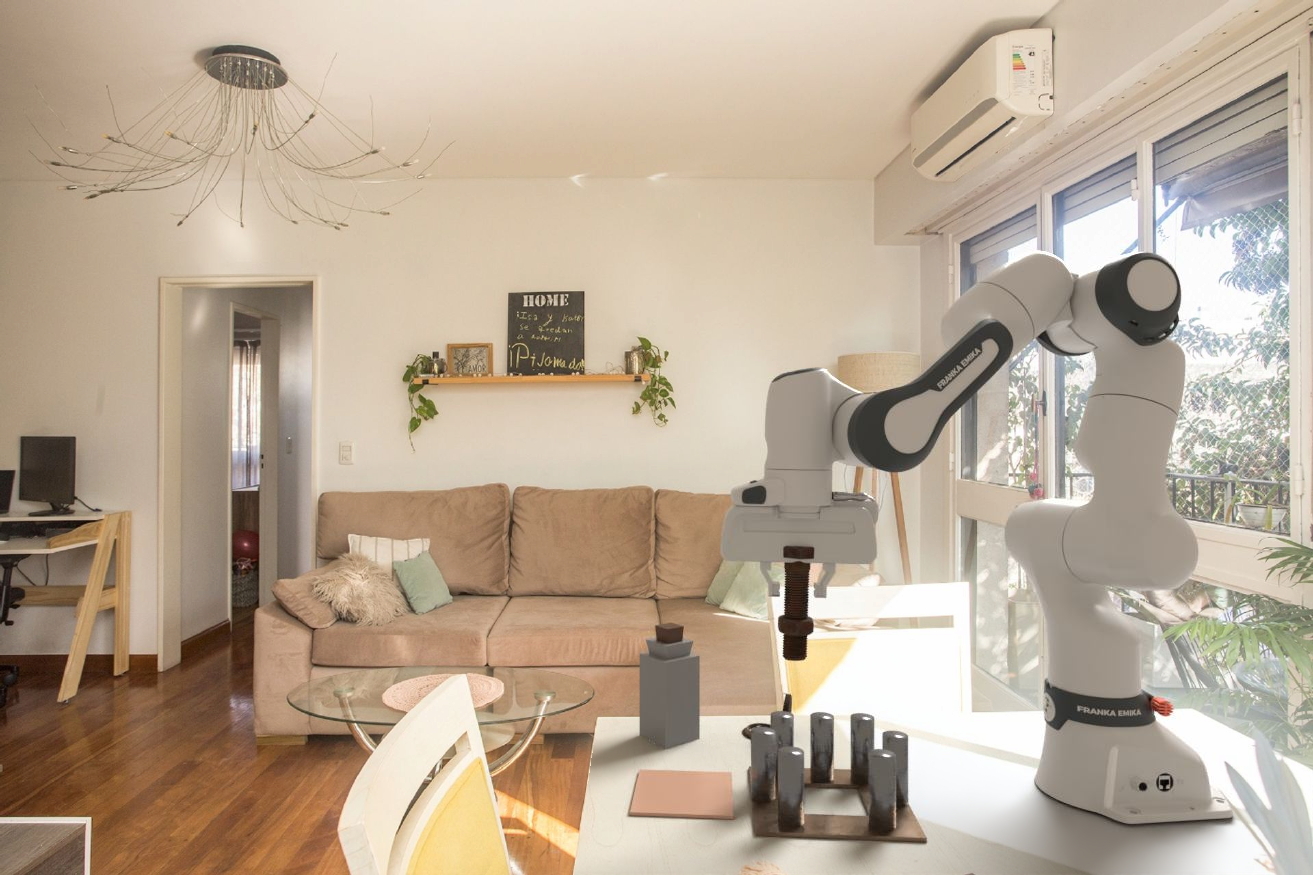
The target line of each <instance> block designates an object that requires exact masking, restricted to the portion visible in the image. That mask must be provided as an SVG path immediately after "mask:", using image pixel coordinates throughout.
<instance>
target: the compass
mask: <svg viewBox="0 0 1313 875" xmlns="http://www.w3.org/2000/svg"><path fill="white" fill-rule="evenodd" d="M782 694H783V695H785V696H784V701H783V706H782V711H786V712H790V713H792V709H793V696H792V694H791V693H786V692H783V693H782ZM756 727H767V728H771V723H766V722H765V723H764V722H755V723H750V724H748V725H747V726H745V727H744V728H742V730H741V732H742V735H743V736H744V737H745V738H747V739H749V740H751V730H752V729H753V728H756Z"/></svg>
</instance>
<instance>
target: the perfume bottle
mask: <svg viewBox="0 0 1313 875" xmlns="http://www.w3.org/2000/svg"><path fill="white" fill-rule="evenodd" d="M654 626H655V627H654V628H655V630H654V631H655V637H651V638H645V642H646V646H647V648H648V651H645V652H639V736H640V737H642V738H644V739H645V738H646V739H645V740H647V741H649V740H650V741H649V742H650V743H652V742H653V744H654V743H655V744H654V745H656V746H657V747H660V748H661V747H662V748H661V749H663V750H665V749H666V750H668V749H672V748H676V747H678V746H679V747H680V746H681V745H685V744H688V743H691V742H694V741H697V740H700V738H701V737H700V729H701V728H700V726H701V725H700V721H701V720H700V718H701V717H700V715H701V713H700V706H701V705H700V700H701V699H700V687H701V686H700V680H701V678H700V677H701V676H700V674H701V673H700V672H701V671H700V668H701V667H700V666H701V664H700V663H701V662H700V661H701V660H700V659H701V658H700V657H701V656H700V655H699V654H695V653H694V652H691V651H692V648H693V645H694V640H691V639H689V638H685V637H683V636H684V629H685V628H684V627H685V626H684V625H682V624H681V625H680V624H677V623H673V622H668V623H667V622H666V623H660V624H655V625H654Z"/></svg>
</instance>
